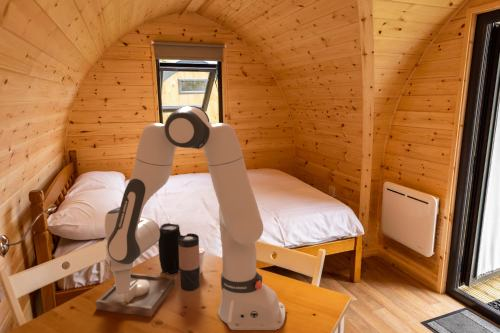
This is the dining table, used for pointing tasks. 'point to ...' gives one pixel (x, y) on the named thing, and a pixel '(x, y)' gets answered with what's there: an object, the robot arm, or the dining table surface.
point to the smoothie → (201, 257)
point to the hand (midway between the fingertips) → (122, 291)
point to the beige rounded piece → (136, 290)
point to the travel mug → (189, 262)
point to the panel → (139, 304)
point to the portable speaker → (169, 248)
